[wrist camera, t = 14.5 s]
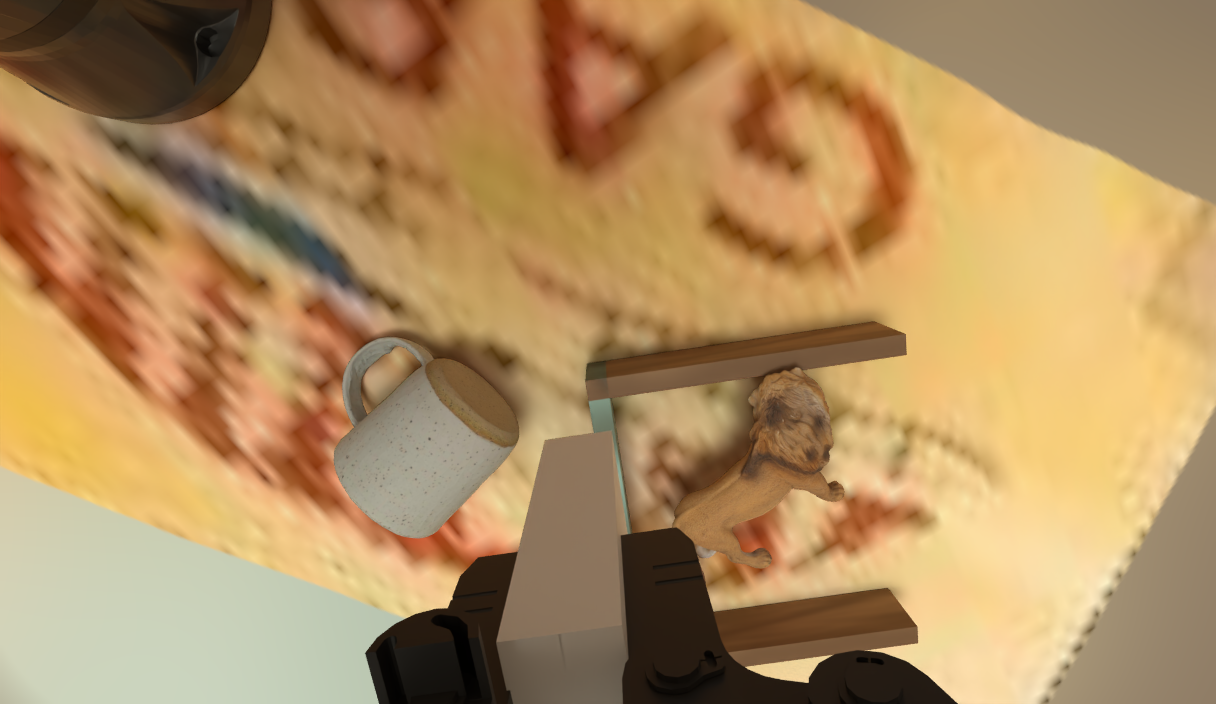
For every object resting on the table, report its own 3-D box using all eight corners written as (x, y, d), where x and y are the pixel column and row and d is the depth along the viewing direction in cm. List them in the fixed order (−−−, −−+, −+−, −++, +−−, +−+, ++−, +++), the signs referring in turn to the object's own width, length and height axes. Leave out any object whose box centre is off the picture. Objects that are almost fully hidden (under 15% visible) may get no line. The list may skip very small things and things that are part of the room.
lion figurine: (825, 406, 41) (764, 338, 35) (890, 451, 36) (832, 382, 31) (680, 570, 41) (597, 529, 36) (728, 632, 37) (643, 597, 32)
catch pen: (586, 363, 38) (585, 381, 34) (874, 321, 38) (905, 333, 34) (631, 638, 43) (634, 681, 39) (888, 603, 42) (918, 643, 38)
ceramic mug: (536, 416, 39) (519, 462, 31) (451, 501, 40) (415, 565, 33) (408, 301, 37) (358, 320, 30) (324, 393, 39) (256, 434, 31)
